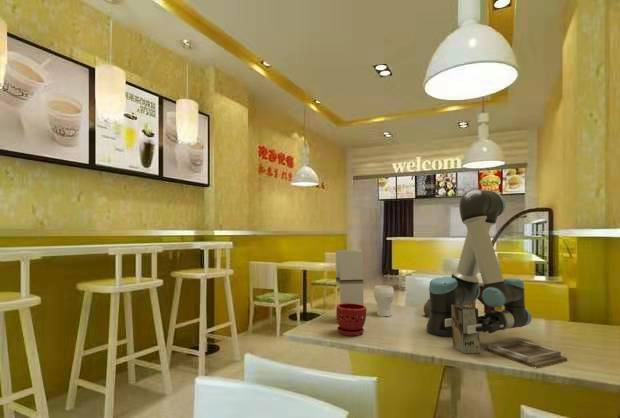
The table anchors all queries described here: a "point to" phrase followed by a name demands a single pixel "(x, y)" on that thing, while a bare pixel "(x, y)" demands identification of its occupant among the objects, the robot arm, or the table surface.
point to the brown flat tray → (526, 352)
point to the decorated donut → (481, 313)
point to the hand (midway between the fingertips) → (456, 326)
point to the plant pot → (351, 318)
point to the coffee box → (464, 328)
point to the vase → (427, 308)
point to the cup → (384, 299)
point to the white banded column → (350, 276)
